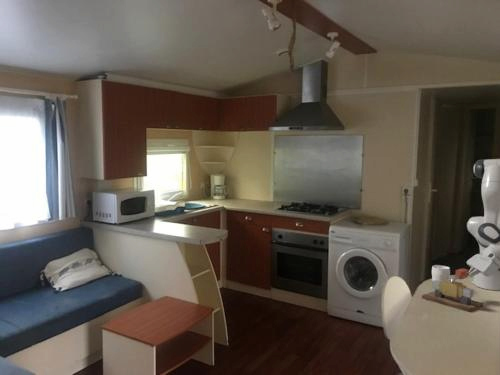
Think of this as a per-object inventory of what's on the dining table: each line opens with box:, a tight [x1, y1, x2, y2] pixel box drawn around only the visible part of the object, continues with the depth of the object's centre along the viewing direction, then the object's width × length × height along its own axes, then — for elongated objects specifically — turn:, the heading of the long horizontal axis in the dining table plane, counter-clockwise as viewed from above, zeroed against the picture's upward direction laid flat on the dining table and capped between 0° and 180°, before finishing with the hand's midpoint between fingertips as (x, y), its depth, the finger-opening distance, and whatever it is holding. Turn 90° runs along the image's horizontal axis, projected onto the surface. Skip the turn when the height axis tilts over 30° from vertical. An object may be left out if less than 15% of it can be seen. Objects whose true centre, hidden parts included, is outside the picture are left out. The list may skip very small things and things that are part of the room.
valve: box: [432, 279, 474, 305], centre depth 198 cm, size 6×18×8 cm, turn 38°
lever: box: [450, 268, 469, 283], centre depth 201 cm, size 13×3×5 cm, turn 128°
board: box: [421, 290, 484, 313], centre depth 199 cm, size 14×23×2 cm, turn 38°
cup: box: [431, 264, 451, 282], centre depth 220 cm, size 9×9×12 cm
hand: (468, 275), depth 200 cm, fingers closed
